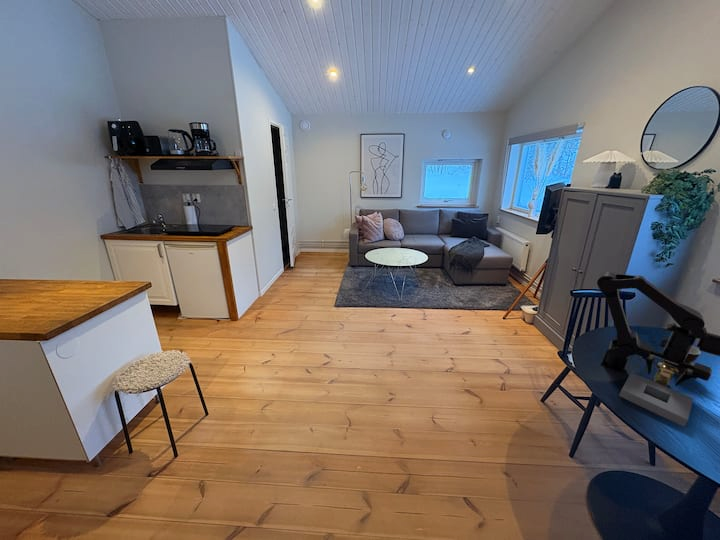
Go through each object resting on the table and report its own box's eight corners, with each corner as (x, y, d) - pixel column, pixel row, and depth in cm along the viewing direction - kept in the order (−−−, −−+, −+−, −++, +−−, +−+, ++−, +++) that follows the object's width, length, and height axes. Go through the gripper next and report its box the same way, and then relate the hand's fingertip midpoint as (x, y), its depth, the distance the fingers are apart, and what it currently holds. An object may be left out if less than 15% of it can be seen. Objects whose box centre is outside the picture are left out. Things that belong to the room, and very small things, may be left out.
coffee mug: (673, 361, 120) (683, 340, 116) (696, 375, 112) (707, 354, 108) (646, 361, 120) (655, 341, 116) (667, 376, 112) (677, 354, 108)
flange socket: (618, 395, 102) (621, 389, 101) (628, 378, 110) (631, 372, 109) (684, 426, 90) (688, 419, 89) (689, 404, 99) (693, 398, 97)
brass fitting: (649, 381, 109) (656, 366, 106) (652, 375, 112) (659, 360, 109) (669, 390, 105) (677, 374, 102) (671, 383, 108) (679, 368, 106)
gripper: (721, 348, 100) (701, 383, 106) (648, 325, 114) (634, 357, 119) (719, 361, 94) (698, 398, 99) (642, 335, 107) (627, 369, 113)
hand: (662, 379), depth 108 cm, fingers open, 7 cm apart
